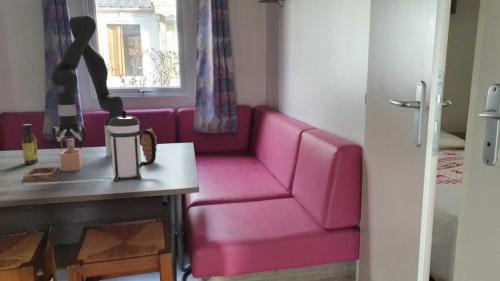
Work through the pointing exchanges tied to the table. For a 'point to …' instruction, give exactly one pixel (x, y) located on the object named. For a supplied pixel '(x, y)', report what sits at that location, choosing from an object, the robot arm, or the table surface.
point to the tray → (41, 173)
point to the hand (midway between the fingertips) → (70, 148)
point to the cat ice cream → (147, 145)
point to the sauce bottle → (29, 145)
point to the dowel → (70, 146)
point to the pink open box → (71, 160)
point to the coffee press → (128, 146)
